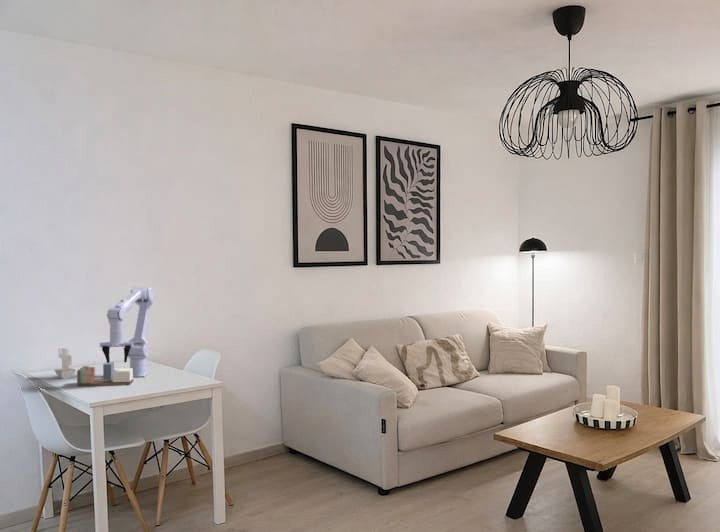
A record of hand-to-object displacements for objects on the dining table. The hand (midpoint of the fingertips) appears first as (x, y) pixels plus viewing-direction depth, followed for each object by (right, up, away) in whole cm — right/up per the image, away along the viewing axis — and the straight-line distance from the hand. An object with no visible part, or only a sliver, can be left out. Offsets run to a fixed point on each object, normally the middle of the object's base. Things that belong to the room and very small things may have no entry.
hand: (116, 362), depth 289 cm
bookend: (+2, -9, +1) cm, 9 cm away
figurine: (-31, -10, +14) cm, 35 cm away
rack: (-6, -10, 0) cm, 12 cm away
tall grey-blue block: (-7, -10, +9) cm, 15 cm away
